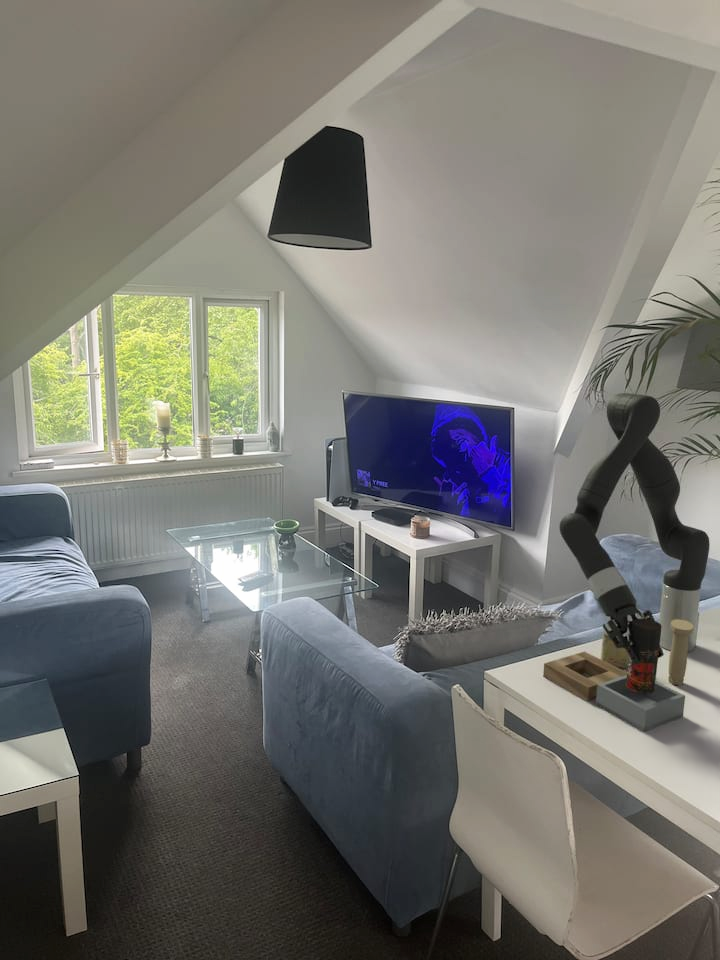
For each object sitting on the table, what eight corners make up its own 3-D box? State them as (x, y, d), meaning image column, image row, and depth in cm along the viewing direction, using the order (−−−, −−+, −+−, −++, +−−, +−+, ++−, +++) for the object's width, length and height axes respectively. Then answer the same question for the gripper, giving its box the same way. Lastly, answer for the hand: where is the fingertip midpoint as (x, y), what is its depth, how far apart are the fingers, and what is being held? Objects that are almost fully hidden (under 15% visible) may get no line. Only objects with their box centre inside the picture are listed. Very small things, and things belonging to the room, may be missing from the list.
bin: (634, 691, 169) (636, 671, 168) (682, 716, 158) (685, 695, 157) (595, 704, 163) (597, 684, 162) (643, 732, 152) (646, 710, 151)
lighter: (630, 664, 183) (633, 627, 181) (629, 670, 180) (632, 633, 178) (600, 659, 186) (604, 622, 184) (599, 665, 183) (602, 628, 181)
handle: (685, 678, 176) (692, 621, 173) (687, 690, 170) (693, 631, 167) (664, 675, 177) (670, 618, 174) (665, 686, 172) (671, 628, 169)
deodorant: (620, 683, 161) (626, 620, 158) (640, 679, 163) (647, 617, 160) (639, 695, 155) (646, 630, 152) (660, 691, 158) (667, 627, 155)
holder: (583, 664, 183) (584, 651, 182) (628, 687, 171) (629, 673, 170) (543, 676, 176) (544, 663, 175) (587, 701, 164) (588, 687, 163)
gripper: (600, 589, 158) (639, 660, 150) (643, 579, 165) (683, 646, 157) (579, 603, 163) (616, 673, 156) (622, 593, 170) (660, 659, 163)
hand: (650, 659), depth 156 cm, fingers closed on deodorant, 6 cm apart
